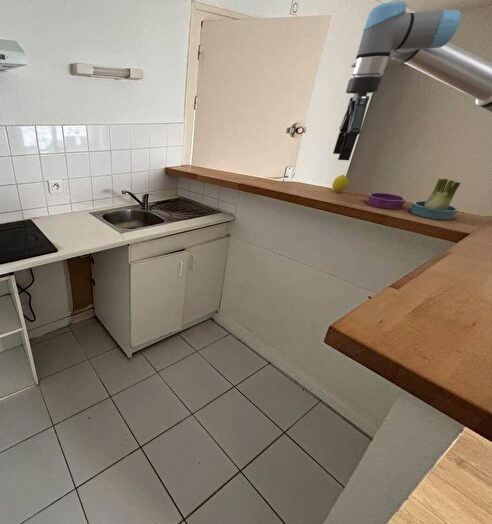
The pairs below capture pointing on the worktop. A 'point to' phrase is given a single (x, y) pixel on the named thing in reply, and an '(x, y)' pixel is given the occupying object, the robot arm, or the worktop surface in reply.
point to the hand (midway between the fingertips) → (340, 156)
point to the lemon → (340, 183)
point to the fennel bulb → (442, 195)
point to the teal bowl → (433, 211)
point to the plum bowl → (385, 200)
